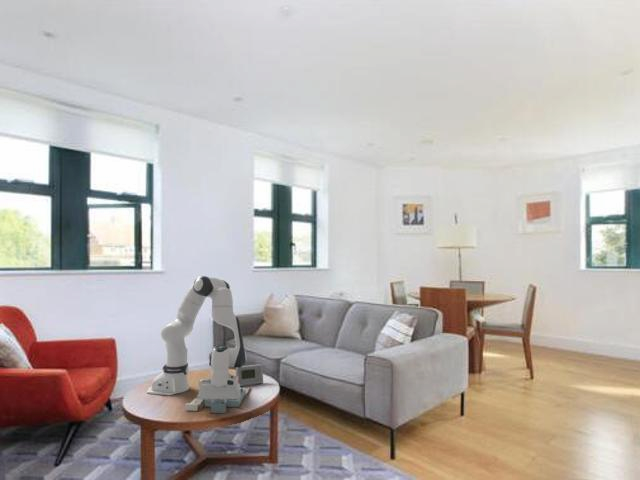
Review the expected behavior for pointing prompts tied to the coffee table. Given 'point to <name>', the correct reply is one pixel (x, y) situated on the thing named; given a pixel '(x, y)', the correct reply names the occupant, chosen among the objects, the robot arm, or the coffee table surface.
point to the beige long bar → (194, 404)
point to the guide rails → (241, 404)
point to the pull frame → (221, 405)
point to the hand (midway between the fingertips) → (219, 407)
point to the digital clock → (250, 375)
